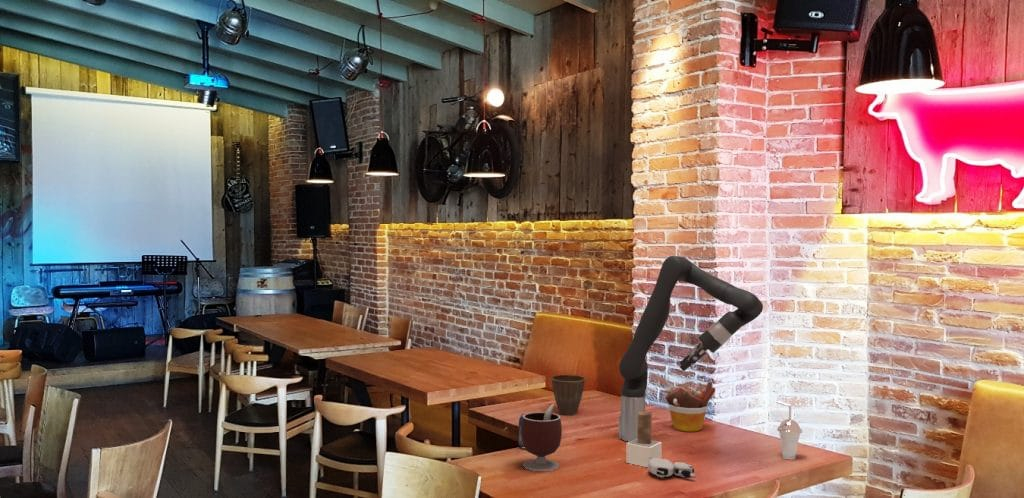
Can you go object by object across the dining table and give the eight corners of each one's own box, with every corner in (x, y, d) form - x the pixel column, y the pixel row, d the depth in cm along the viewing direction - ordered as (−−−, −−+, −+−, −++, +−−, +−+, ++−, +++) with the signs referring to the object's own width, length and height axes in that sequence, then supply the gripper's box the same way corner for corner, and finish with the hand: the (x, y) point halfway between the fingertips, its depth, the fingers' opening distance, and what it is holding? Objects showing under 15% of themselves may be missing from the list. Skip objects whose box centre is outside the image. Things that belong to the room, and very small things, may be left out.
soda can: (539, 445, 277) (539, 414, 277) (533, 450, 270) (534, 418, 270) (521, 444, 279) (522, 412, 279) (516, 448, 273) (516, 416, 273)
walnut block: (637, 443, 256) (637, 414, 256) (638, 439, 260) (638, 411, 260) (650, 444, 255) (651, 415, 254) (651, 440, 259) (651, 412, 259)
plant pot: (585, 417, 322) (586, 381, 322) (551, 417, 322) (552, 380, 322) (583, 410, 337) (583, 375, 337) (550, 409, 337) (550, 374, 337)
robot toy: (690, 473, 249) (646, 468, 251) (692, 460, 249) (647, 454, 251) (695, 485, 237) (648, 479, 239) (697, 471, 237) (650, 465, 239)
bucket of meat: (664, 432, 299) (665, 383, 299) (663, 422, 315) (664, 376, 315) (715, 435, 295) (716, 385, 295) (711, 425, 312) (712, 378, 311)
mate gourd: (548, 475, 242) (549, 414, 242) (512, 468, 250) (513, 409, 249) (570, 463, 255) (571, 406, 255) (535, 456, 263) (536, 400, 263)
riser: (626, 463, 257) (626, 442, 256) (638, 457, 264) (638, 437, 264) (649, 468, 251) (649, 447, 251) (661, 462, 258) (661, 441, 258)
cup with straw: (790, 462, 260) (791, 405, 260) (770, 455, 268) (771, 400, 268) (807, 459, 264) (807, 403, 264) (787, 452, 272) (787, 398, 272)
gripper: (706, 326, 268) (674, 356, 271) (708, 331, 255) (674, 362, 257) (721, 341, 267) (688, 371, 270) (724, 347, 253) (689, 378, 256)
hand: (681, 367), depth 264 cm, fingers open, 8 cm apart
